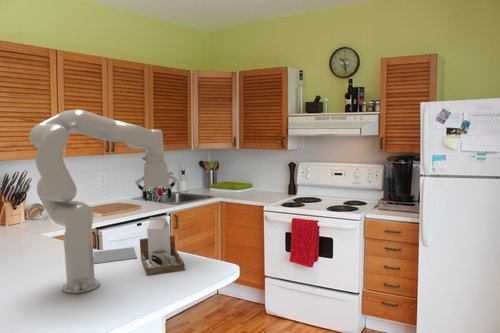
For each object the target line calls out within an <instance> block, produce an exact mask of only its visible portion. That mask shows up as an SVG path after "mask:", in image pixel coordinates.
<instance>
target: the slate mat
mask: <svg viewBox="0 0 500 333" xmlns="http://www.w3.org/2000/svg"><path fill="white" fill-rule="evenodd" d="M93 259H94V265H97V264H105V263H113V262H121V261H127V260H128V261H129V260H130V261H131V260H136V259H138V257H137V253H136V251H135V248H134V246H133V247H125V248H116V249H107V250H100V251H99V250H98V251H93Z"/></svg>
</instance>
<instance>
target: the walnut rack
mask: <svg viewBox="0 0 500 333" xmlns="http://www.w3.org/2000/svg"><path fill="white" fill-rule="evenodd" d="M175 236H176V235H174V234H172V235H171V234H170V248H171V256H172V257H173V259H175V261H176V263H177V264H173V265H171V264H169V266H162V267H154V268H152V267H149V265H148V262H147V260H149V253H148V237H147V238H139V248H140V250H139V251H140V252H139V253H140V261H141V264H142V266H143V270H144V272H145V276H153V275H160V274H167V273H174V272H176V273H177V272H182V271H186V270H185V269H186V268H185V262H184V260H183V259H182V257H181V255H180V254H179V252H178V251H177V249H176V239H175V238H176V237H175Z"/></svg>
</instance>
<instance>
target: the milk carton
mask: <svg viewBox="0 0 500 333" xmlns="http://www.w3.org/2000/svg"><path fill="white" fill-rule="evenodd" d="M146 231H147V232H146V233H147V234H146V235H147V238H148V253H149V259H148V263H149V264H152V259H151V252H152V251H155V250H167V251H168V254H169V255H171V248H170V236H171V233H170V232H171V231H170V224H169V223H168V221H167V217H152V216H151V217H149V222H148V225H147V228H146ZM168 261H171V260H170V258H168Z"/></svg>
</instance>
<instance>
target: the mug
mask: <svg viewBox="0 0 500 333" xmlns="http://www.w3.org/2000/svg"><path fill="white" fill-rule="evenodd" d="M168 258H170V260H168ZM151 259H152V263H151V268H154V267H162V266H169V265H174V256H171V255H169V254H168V251H167V250H155V251H152V252H151ZM169 261H170V264H169Z"/></svg>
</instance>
